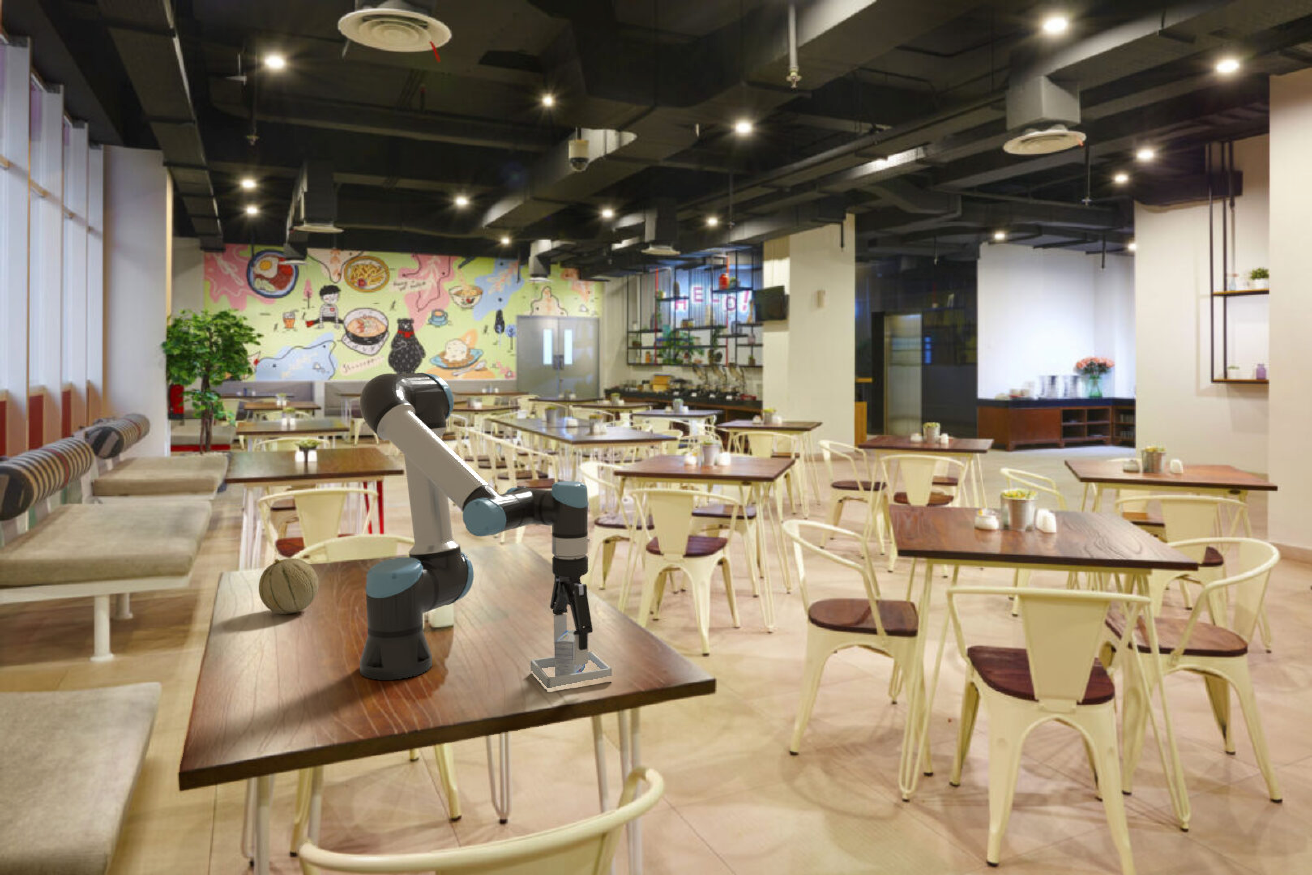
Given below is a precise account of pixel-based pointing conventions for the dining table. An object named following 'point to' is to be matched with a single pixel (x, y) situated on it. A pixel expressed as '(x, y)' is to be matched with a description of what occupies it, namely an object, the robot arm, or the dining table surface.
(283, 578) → the cantaloupe
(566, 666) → the medicine box
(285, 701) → the dining table surface
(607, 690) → the dining table surface
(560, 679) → the walled tray
